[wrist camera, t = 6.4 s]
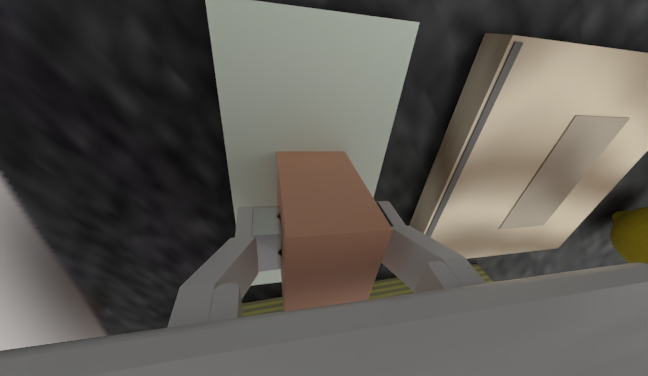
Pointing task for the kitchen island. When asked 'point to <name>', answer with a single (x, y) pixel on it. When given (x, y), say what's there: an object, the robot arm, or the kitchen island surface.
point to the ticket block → (534, 144)
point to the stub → (311, 135)
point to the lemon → (631, 234)
